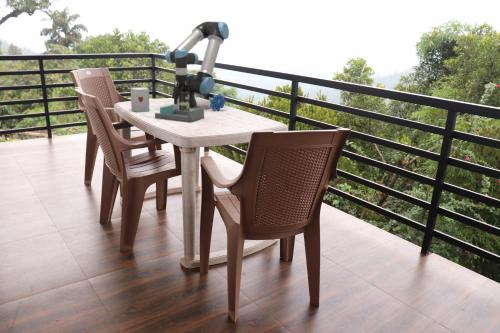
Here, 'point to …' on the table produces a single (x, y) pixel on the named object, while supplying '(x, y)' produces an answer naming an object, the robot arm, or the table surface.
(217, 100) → the grapes
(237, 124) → the table surface
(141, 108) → the supplement box
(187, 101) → the coffee can
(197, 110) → the lane
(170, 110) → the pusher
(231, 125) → the table surface
